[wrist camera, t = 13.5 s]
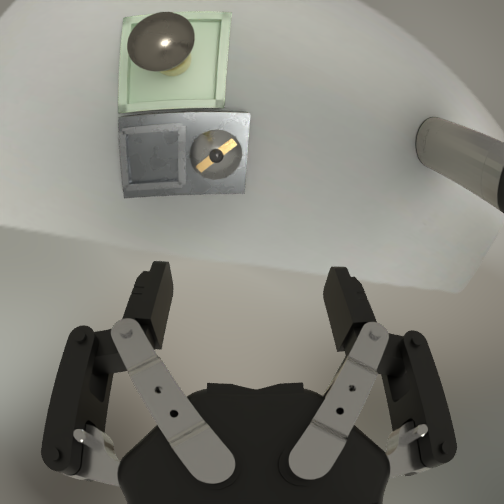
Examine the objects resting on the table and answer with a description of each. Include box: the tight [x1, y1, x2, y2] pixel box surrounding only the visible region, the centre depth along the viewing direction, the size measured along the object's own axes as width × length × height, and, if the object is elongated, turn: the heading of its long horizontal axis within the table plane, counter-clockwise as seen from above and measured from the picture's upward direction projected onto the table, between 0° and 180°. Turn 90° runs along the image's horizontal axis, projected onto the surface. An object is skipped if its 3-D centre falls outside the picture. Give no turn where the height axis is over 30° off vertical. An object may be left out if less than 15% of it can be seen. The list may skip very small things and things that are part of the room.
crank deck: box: [119, 111, 250, 198], centre depth 30 cm, size 15×10×3 cm, turn 86°
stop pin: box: [127, 12, 195, 76], centre depth 19 cm, size 5×5×13 cm
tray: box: [118, 12, 232, 113], centre depth 24 cm, size 12×12×2 cm
